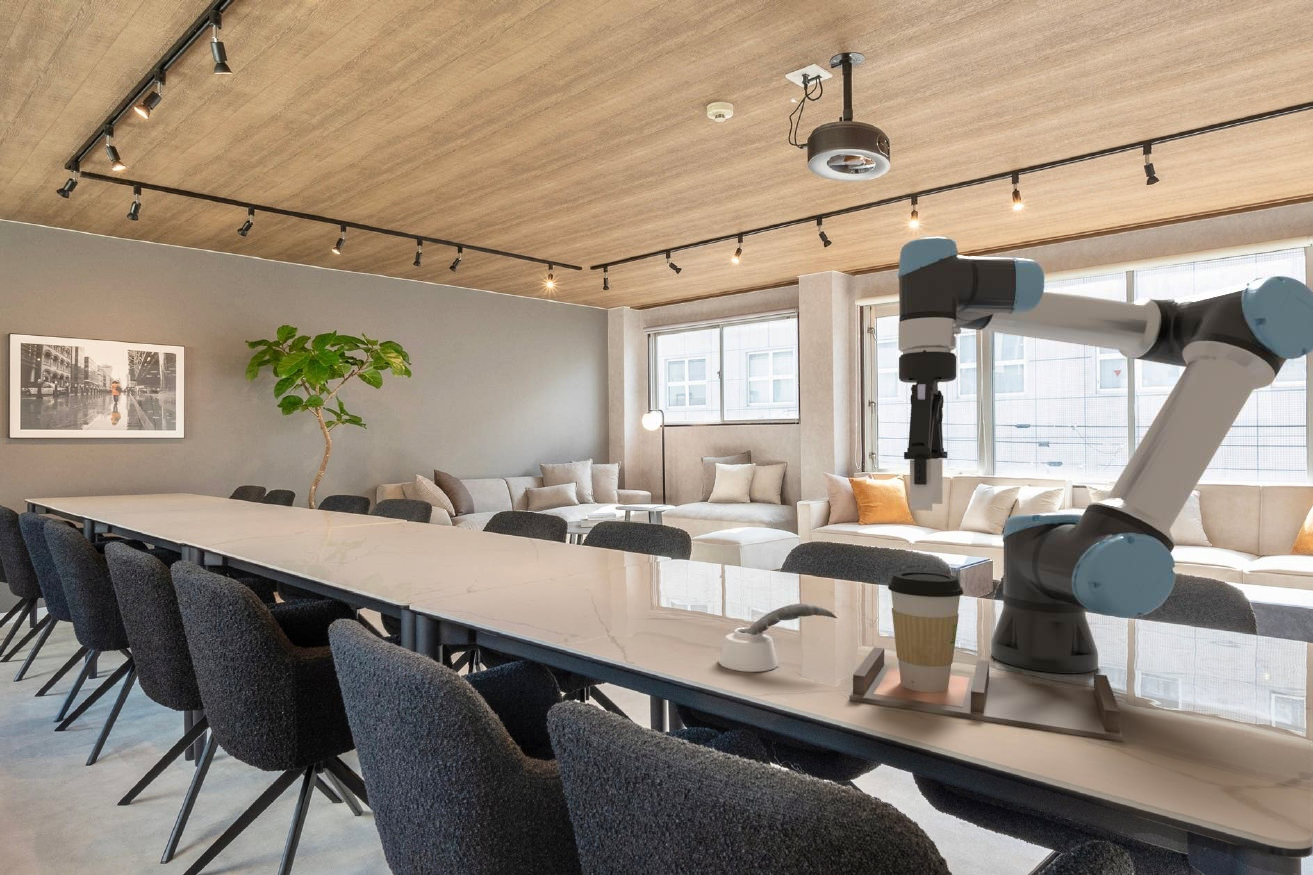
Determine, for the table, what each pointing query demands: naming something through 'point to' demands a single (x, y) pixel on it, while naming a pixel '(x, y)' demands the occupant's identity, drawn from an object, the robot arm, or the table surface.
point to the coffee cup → (925, 627)
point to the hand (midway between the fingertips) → (926, 506)
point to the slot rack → (996, 699)
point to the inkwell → (761, 640)
